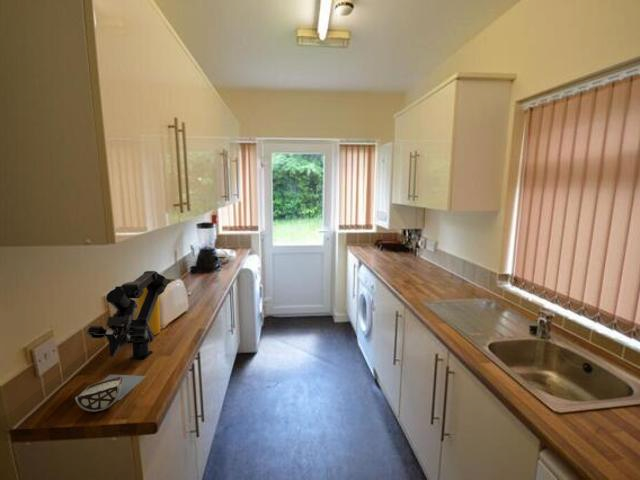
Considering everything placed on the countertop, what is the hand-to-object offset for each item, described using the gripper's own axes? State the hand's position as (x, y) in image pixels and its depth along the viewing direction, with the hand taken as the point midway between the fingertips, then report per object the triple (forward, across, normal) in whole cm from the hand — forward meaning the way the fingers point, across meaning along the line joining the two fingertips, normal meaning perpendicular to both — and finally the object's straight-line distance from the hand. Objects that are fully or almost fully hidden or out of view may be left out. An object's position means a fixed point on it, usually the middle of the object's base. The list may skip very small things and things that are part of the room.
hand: (111, 356), depth 118 cm
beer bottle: (-23, 0, +42) cm, 48 cm away
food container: (+10, +2, 0) cm, 11 cm away
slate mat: (+9, +2, +5) cm, 10 cm away
